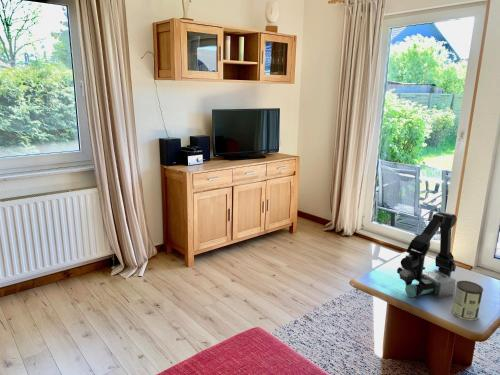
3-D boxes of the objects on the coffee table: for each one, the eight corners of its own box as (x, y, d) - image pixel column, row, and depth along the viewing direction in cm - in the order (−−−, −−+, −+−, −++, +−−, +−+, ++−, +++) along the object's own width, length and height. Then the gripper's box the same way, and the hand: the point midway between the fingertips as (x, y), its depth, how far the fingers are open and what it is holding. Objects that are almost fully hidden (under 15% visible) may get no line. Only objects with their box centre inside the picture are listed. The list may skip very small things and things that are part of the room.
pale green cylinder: (423, 289, 187) (425, 278, 186) (433, 294, 182) (434, 284, 181) (404, 293, 183) (406, 282, 181) (413, 299, 177) (415, 288, 176)
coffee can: (464, 306, 173) (469, 279, 170) (483, 318, 164) (488, 290, 160) (446, 309, 170) (451, 281, 167) (464, 322, 161) (470, 293, 157)
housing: (433, 283, 194) (435, 269, 192) (453, 294, 183) (455, 280, 181) (418, 286, 190) (420, 272, 188) (437, 298, 179) (440, 283, 177)
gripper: (390, 258, 182) (386, 286, 186) (418, 275, 165) (414, 306, 169) (407, 255, 186) (403, 283, 190) (437, 272, 169) (432, 302, 173)
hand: (412, 293), depth 180 cm, fingers closed on pale green cylinder, 6 cm apart
